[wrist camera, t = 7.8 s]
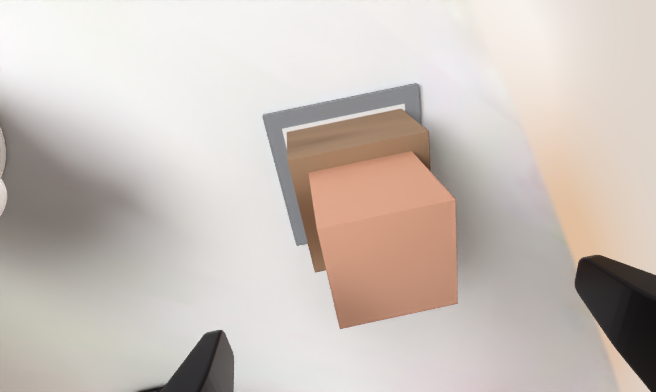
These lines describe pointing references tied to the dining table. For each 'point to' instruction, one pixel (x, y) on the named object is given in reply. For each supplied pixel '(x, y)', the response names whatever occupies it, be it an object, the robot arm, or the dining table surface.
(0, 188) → the mug
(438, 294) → the cube
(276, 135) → the gray square frame
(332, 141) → the base block
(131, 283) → the dining table surface
